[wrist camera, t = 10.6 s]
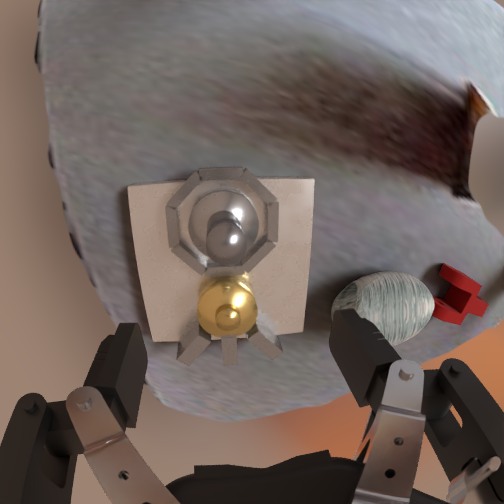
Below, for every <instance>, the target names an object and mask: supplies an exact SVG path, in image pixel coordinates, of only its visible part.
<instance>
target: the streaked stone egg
mask: <svg viewBox="0 0 504 504" xmlns="http://www.w3.org/2000/svg"><path fill="white" fill-rule="evenodd" d="M348 308H353V309H355V311H356V312H357V313H358V314H359V316H360V317H361V318H366V319H367V320H369V321H371V322H372V323H374V324H375V325H376V327H377V328H378V329H379V330H380V333H382V334H383V336H384V337H385V339H387V341H388V342H389V343H390V344H391V346H394V345H397V344H400V343H402V342H404V341H406V340H408V339H410V338H412V337H413V336H415V335H416V334H417V333H419V332H420V331H421V330H422V329H423V327H424V326H425V325H426V324H427V323H428V321H429V320H430V318H431V316H432V313H433V310H434V299H433V296H432V295H431V293H430V291H429V289H428V288H427V287H426V286H425V285H424V284H423V283H422V282H421V281H420V280H418V279H417V278H415V277H413V276H412V275H409V274H406V273H403V272H397V271H382V272H376V273H373V274H370V275H367V276H364V277H361V278H359V279H357V280H355V281H353V282H352V283H350V284H349V285H348V286H346V287H345V288H344V289H343V290H342V291H341V292H340V293H339V294H338V295H337V297H336V298H335V300H334V302H333V305H332V309H331V318H332V321H333V316H334V312H335V311H336V310H341V309H348Z"/></svg>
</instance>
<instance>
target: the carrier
mask: <svg viewBox="0 0 504 504" xmlns="http://www.w3.org/2000/svg"><path fill="white" fill-rule="evenodd" d="M215 189H232V190H235V191H237V192H239V193H241V194H243V195H244V196H245V197H246V198H247V199H248V200H249V201H250V202H251V204H252V205H253V207H254V209H255V211H256V213H257V215H258V220H259V231H258V235H257V238H256V240H255V242H254V243H253V245H252V246H251V247H250V248H249V249H248V250H247V251H246V253H245V255H244V257H243V258H242V259H241V260H240V261H239V262H237V263H235V264H233V265H228V266H224V265H219V264H217V263H215V262H214V261H212V260H211V259H210V257H208V256H206V255H204V254H203V253H201V252H200V251H199V250H198V249H197V248H196V247H195V246H194V244H193V242H192V241H191V238H190V235H189V231H188V222H189V217H190V214H191V210H192V208H193V206H194V204H195V203H196V202H197V200H198V199H199V198H200V197H201V196H203V195H204V194H205V193H207V192H209V191H212V190H215ZM128 198H129V208H130V217H131V225H132V233H133V240H134V247H135V254H136V260H137V266H138V272H139V278H140V283H141V289H142V294H143V299H144V304H145V308H146V313H147V318H148V322H149V326H150V331H151V335H152V339H153V342H165V341H180V342H179V343H178V352H177V360H178V361H180V362H182V363H184V364H186V365H188V366H189V365H190V364H191V363H192V362H193V361H194V360H195V359H196V358H197V357H198V356H199V355H200V354H201V353H202V352H203V350H204V349H205V348H206V347H207V346H208V345H209V344H210V343H211V340H218V339H221V341H222V353H223V364H224V366H226V365H238V356H237V338H247V340H248V341H249V342H250V343H252V344H253V345H254V346H255V347H256V348H258V349H259V350H260V351H261V352H263V353H264V354H265V355H266V356H268V357H269V358H270V359H272V360H273V359H275V358H276V357H278V356H279V355H280V354H282V353H283V349H282V346H281V343H280V341H279V338H278V336H277V335H279V334H289V333H297V332H303V326H304V317H305V308H306V298H307V287H308V276H309V264H310V251H311V236H312V220H313V200H314V179H313V178H310V177H286V176H274V177H255V176H254V175H253V174H252V173H251V172H250V171H249V170H248V169H246V168H245V169H244V170H243V167H216V168H200V169H199V172H198V171H195V172H194V173H193V174H192V175H191V176H190V177H189V178H188V179H185V180H171V181H158V182H147V183H136V184H132V185H130V186H128Z"/></svg>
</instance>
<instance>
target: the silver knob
mask: <svg viewBox="0 0 504 504" xmlns="http://www.w3.org/2000/svg"><path fill="white" fill-rule="evenodd" d="M188 231H189V235H190V238H191V241H192V242H193V244H194V246H195V247H196V248H197V249H198V250H199V251H200V252H201V253H203V254H204V255H206V256H208V257H210V259H211V260H212V261H214V262H215V263H217V264H219V265H224V266H228V265H233V264H235V263H237V262H239V261H240V260H241V259H242V258H243V257H244V255H245V253H246V251H247V250H248V249H249V248H250V247H251V246H252V245H253V243H254V242H255V240H256V238H257V235H258V231H259V220H258V215H257V213H256V211H255V209H254V207H253V205H252V204H251V202H250V201H249V200H248V199H247V198H246V197H245V196H244V195H243V194H241V193H239V192H237V191H235V190H232V189H215V190H212V191H209V192H207V193H205V194H204V195H203V196H201V197H200V198H199V199H198V200H197V202H196V203H195V204H194V206H193V208H192V210H191V214H190V217H189V222H188Z"/></svg>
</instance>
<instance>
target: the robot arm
mask: <svg viewBox="0 0 504 504" xmlns="http://www.w3.org/2000/svg"><path fill="white" fill-rule="evenodd" d="M329 347H330V351H331V353H332V355H333V357H334V359H335V361H336V363H337V365H338V367H339V369H340V370H341V372H342V374H343V376H344V378H345V380H346V382H347V384H348V386H349V388H350V390H351V392H352V393H353V395H354V397H355V399H356V401H357V403H358V405H359V407H364V406H367V405H370V406H371V408H372V410H371V412H370V414H369V418H368V421H367V424H366V427H365V430H364V433H363V436H362V438H361V441H360V444H359V447H358V449H357V451H356V453H355V455H354V458H353V459H352V460H351V459H347V458H341V457H331V456H330V453H329V450H324V451H319V452H315V453H310V454H305V455H300V456H296V457H294V458H291V459H289V460H286V461H284V462H281V463H279V464H276V465H273V466H270V467H268V468H252V467H243V466H235V465H205V466H203V465H201V466H194V474H190V475H186V476H183V477H181V478H178V479H176V480H174V481H172V482H171V483H169V484H168V485H166V486H164V484H163V483H162V482H161V481H160V480H159V478H158V477H157V476H156V475H155V474H154V473H153V471H152V470H151V468H150V467H149V466H148V465H147V463H146V462H145V461H144V459H143V458H142V457H141V455H140V454H139V453H138V451H137V450H136V448H135V447H134V446H133V444H132V443H131V441H130V440H129V438H128V437H127V435H126V434H125V430H126V427H128V428H136V422H137V416H138V410H139V405H140V399H141V394H142V389H143V384H144V379H145V374H146V370H147V363H148V359H147V352H146V348H145V344H144V341H143V337H142V333H141V329H140V326H139V324H138V323H120V324H119V325H118V328H117V330H116V333H115V335H109V336H107V337H106V338H105V339H104V340H103V341H102V342H101V344H100V346H99V348H98V351H97V354H96V356H95V358H94V361H93V363H92V365H91V367H90V370H89V372H88V375H87V377H86V380H85V382H84V385H83V387H79V388H77V389H75V390H73V391H72V392H71V393H70V394H69V395H68V397H67V399H66V400H65V401H58V402H49V403H47V402H46V400H45V399H44V397H43V396H42V395H40V394H37V393H29V394H26V395H24V396H23V397H21V398H20V399H19V401H18V402H17V404H16V406H15V409H14V411H13V414H12V416H11V418H10V421H9V424H8V426H7V429H6V431H5V434H4V437H3V440H2V443H1V446H0V504H71V495H72V487H73V480H74V473H75V467H76V461H77V456H78V454H84V456H85V458H86V460H87V462H88V464H89V466H90V467H91V469H92V471H93V473H94V475H95V477H96V478H97V480H98V482H99V483H100V485H101V487H102V488H103V490H104V492H105V493H106V495H107V496H108V498H109V499H110V501H111V503H112V504H504V412H503V411H502V409H501V408H500V407H499V405H498V404H497V403H496V401H495V400H494V399H493V397H492V396H491V395H490V393H489V392H488V391H487V389H486V388H485V387H484V386H483V384H482V383H481V382H480V381H479V379H478V378H477V377H476V375H475V374H474V373H473V372H472V371H471V369H470V368H469V367H468V366H467V365H466V364H465V363H464V362H463V361H461V360H458V359H453V358H450V359H446V360H445V361H443V363H442V364H441V366H440V369H436V370H423V369H422V368H421V367H420V365H418V364H417V363H415V362H413V361H410V360H404V359H403V360H402V359H401V357H400V356H399V355H398V354H397V352H396V351H395V350H394V348H393V347H392V346H391V344H390V343H389V342H388V341H387V339H385V337H384V336H383V334H382V333H380V330H379V329H378V328H377V327H376V325H375V324H374V323H372V322H371V321H369V320H367V319H366V318H361V317H360V316H359V314H358V313H357V312H356V311H355V309H353V308H348V309H341V310H336V311H335V312H334V316H333V321H332V327H331V332H330V338H329ZM452 405H453V406H454V408H455V409H456V411H457V412H458V414H459V415H460V417H461V419H462V423H463V424H462V428H461V426H460V425H459V423H458V422H457V420H456V418H455V417H454V415H453V414H452V412H451V411H450V408H451V406H452ZM424 432H425V434H426V436H427V437H428V440H429V442H430V443H431V445H432V447H433V449H434V451H435V453H436V455H437V457H438V459H439V461H440V463H441V465H442V467H443V468H444V471H445V473H446V475H447V477H448V479H449V481H450V485H449V489H448V495H447V497H446V500H447V502H445V501H443V500H440V499H438V498H435V497H433V496H430V495H428V494H425V493H423V492H420V491H418V490H416V489H414V488H413V484H414V480H415V476H416V471H417V467H418V462H419V457H420V452H421V446H422V440H423V434H424Z"/></svg>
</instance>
